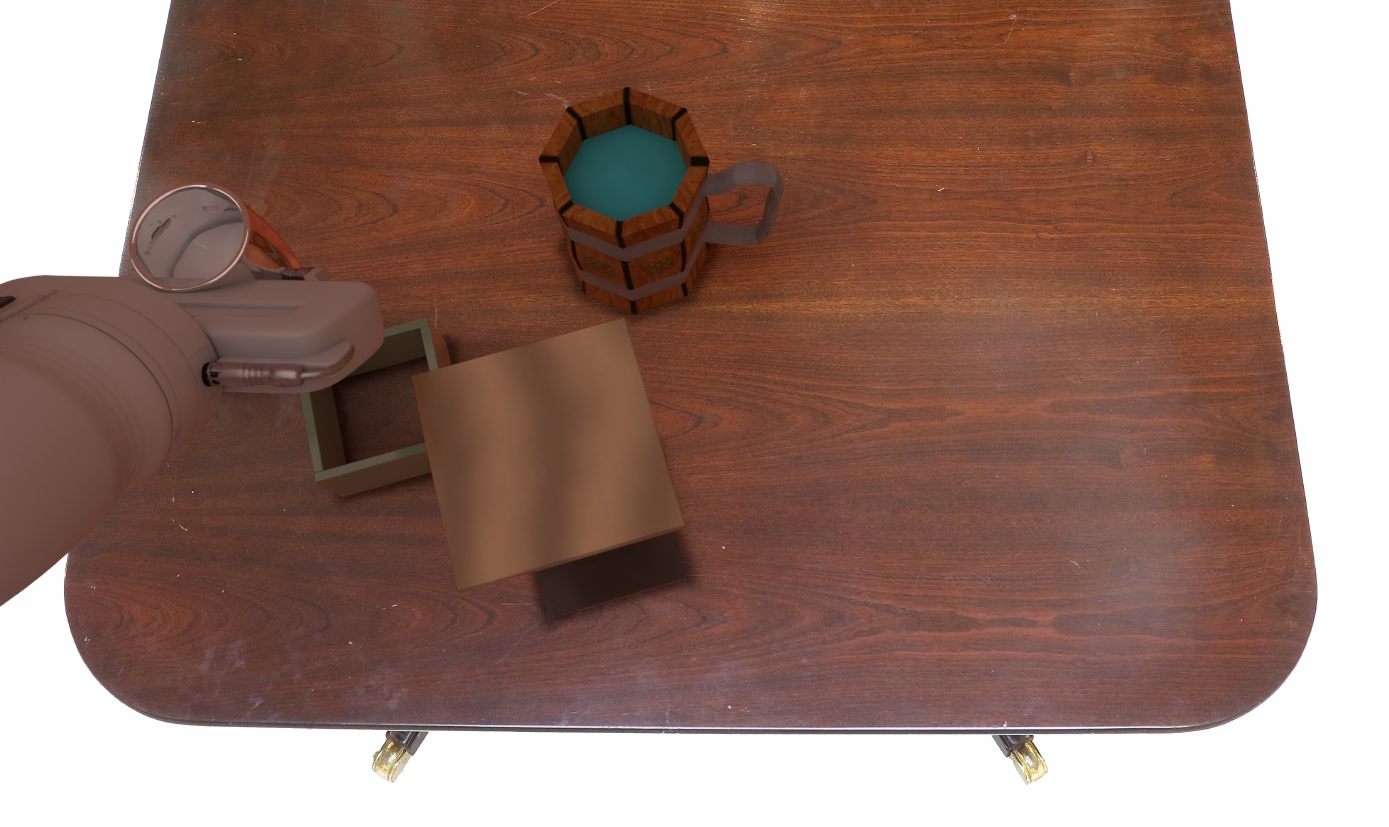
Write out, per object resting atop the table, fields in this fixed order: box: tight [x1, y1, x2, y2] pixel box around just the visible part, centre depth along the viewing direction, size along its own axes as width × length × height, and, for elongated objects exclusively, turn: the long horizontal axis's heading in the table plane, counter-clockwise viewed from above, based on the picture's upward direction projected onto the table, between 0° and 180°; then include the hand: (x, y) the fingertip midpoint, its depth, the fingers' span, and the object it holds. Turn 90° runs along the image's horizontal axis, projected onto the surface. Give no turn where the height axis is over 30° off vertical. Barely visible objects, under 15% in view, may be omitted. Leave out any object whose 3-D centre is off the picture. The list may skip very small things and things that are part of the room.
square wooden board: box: [410, 317, 686, 594], centre depth 54 cm, size 13×13×1 cm
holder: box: [299, 316, 452, 498], centre depth 80 cm, size 12×12×6 cm
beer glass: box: [128, 181, 303, 292], centre depth 57 cm, size 7×7×15 cm
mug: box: [537, 86, 785, 315], centre depth 80 cm, size 20×14×15 cm
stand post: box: [535, 531, 688, 621], centre depth 67 cm, size 12×12×27 cm
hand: (249, 277), depth 57 cm, fingers closed on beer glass, 7 cm apart
